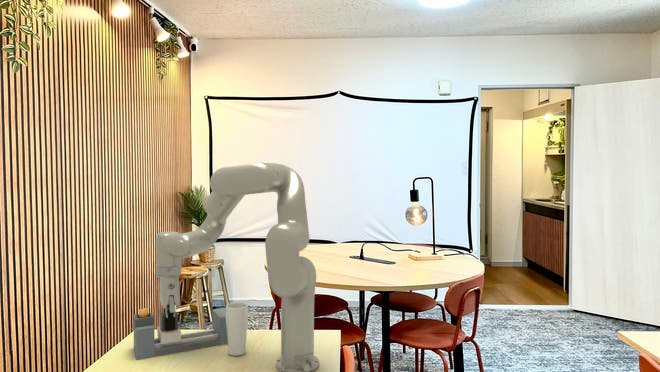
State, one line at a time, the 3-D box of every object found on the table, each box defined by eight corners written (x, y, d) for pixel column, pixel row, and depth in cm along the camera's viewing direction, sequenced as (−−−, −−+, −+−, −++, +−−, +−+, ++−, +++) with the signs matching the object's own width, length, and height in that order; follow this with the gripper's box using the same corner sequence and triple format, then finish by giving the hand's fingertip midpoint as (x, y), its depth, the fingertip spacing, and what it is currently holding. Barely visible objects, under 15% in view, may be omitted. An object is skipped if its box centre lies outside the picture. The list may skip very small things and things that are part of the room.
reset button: (147, 317, 142) (147, 307, 142) (149, 319, 139) (148, 310, 139) (138, 318, 141) (138, 308, 141) (139, 321, 138) (139, 311, 138)
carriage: (176, 333, 149) (176, 309, 148) (181, 341, 142) (181, 315, 141) (157, 336, 146) (157, 311, 146) (161, 344, 139) (160, 318, 139)
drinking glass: (242, 358, 136) (242, 309, 136) (222, 356, 137) (221, 307, 137) (251, 349, 143) (251, 302, 142) (231, 348, 144) (231, 301, 144)
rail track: (226, 333, 158) (226, 300, 157) (234, 342, 149) (234, 307, 149) (133, 348, 143) (132, 312, 143) (136, 359, 135) (135, 321, 134)
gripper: (185, 274, 138) (186, 334, 138) (176, 265, 152) (176, 318, 153) (159, 277, 134) (160, 338, 135) (152, 267, 149) (153, 322, 149)
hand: (169, 327), depth 144 cm, fingers closed on carriage, 3 cm apart
